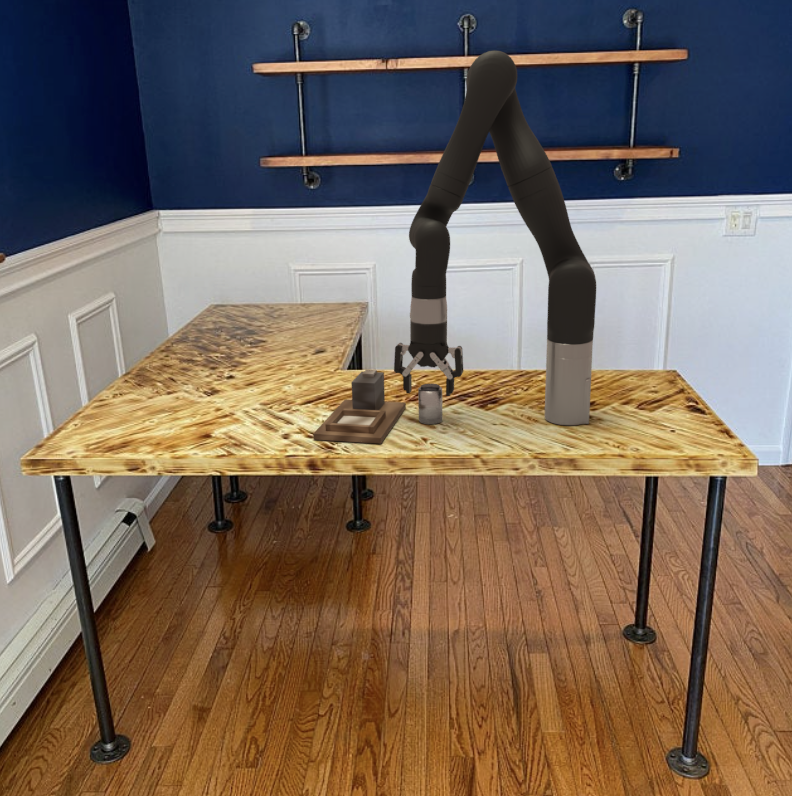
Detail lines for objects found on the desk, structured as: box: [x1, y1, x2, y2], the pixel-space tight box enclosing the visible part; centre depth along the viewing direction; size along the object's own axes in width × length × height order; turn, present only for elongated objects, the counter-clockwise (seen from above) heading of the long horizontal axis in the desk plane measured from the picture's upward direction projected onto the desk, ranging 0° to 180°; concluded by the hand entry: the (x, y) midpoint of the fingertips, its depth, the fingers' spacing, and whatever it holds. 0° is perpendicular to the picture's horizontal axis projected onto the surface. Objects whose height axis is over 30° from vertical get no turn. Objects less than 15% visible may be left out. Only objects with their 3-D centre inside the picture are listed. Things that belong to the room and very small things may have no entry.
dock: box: [312, 369, 407, 444], centre depth 173 cm, size 14×22×9 cm, turn 167°
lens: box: [417, 383, 443, 425], centre depth 174 cm, size 5×5×8 cm
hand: (428, 393), depth 174 cm, fingers open, 8 cm apart
